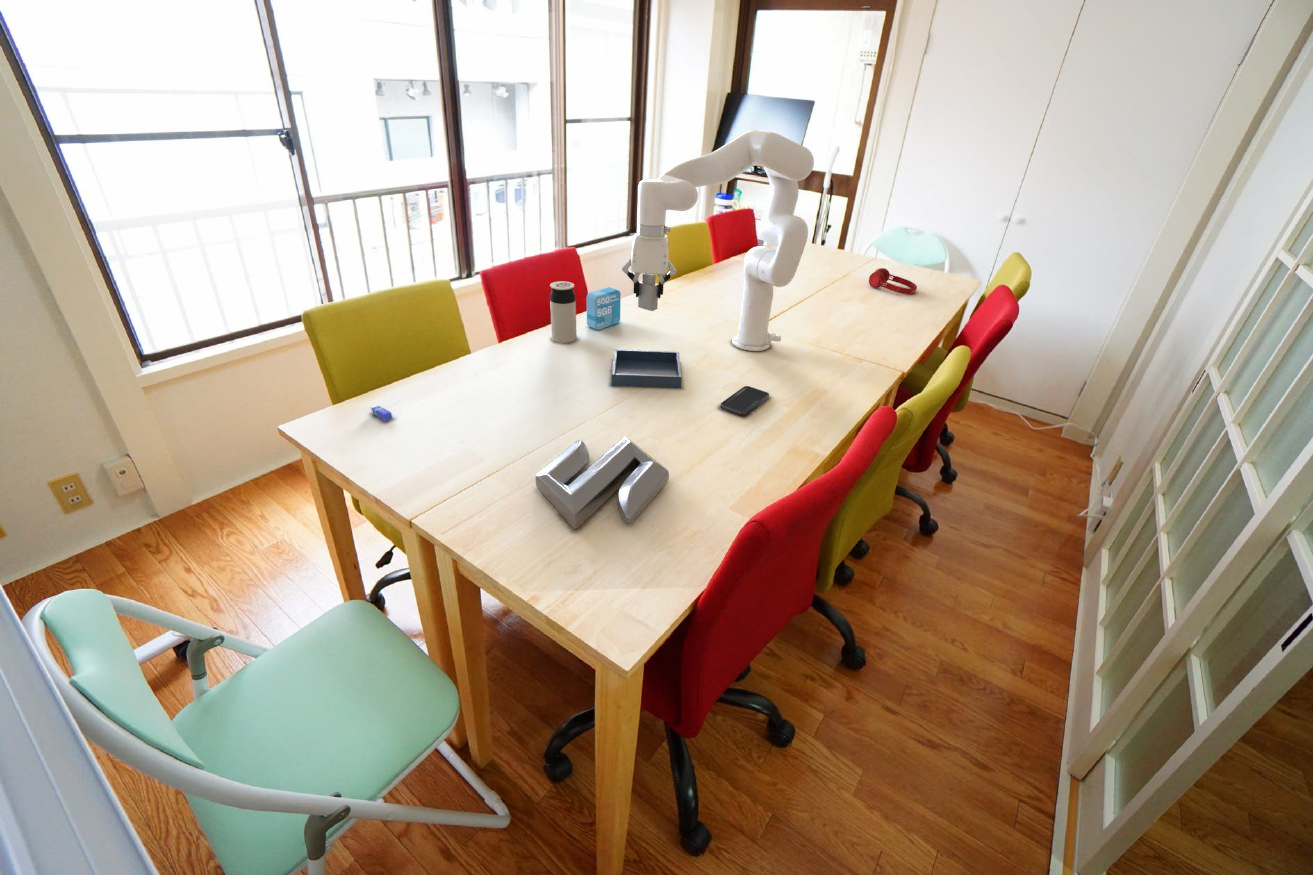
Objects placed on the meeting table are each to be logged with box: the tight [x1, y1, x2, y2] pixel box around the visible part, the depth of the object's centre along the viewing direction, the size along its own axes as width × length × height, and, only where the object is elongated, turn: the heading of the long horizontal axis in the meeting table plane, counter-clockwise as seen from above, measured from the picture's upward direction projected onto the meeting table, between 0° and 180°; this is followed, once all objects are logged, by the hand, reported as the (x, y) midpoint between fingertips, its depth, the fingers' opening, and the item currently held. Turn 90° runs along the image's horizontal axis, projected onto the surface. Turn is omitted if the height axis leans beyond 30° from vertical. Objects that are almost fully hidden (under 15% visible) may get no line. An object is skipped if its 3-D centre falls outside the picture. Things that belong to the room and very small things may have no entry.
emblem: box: [535, 436, 670, 530], centre depth 121 cm, size 28×5×28 cm
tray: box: [610, 348, 683, 389], centre depth 169 cm, size 20×18×4 cm
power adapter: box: [637, 273, 659, 312], centre depth 163 cm, size 3×5×12 cm, turn 54°
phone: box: [720, 385, 770, 417], centre depth 157 cm, size 8×1×15 cm
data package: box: [586, 286, 621, 331], centre depth 199 cm, size 12×4×12 cm, turn 138°
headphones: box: [868, 267, 918, 295], centre depth 255 cm, size 15×7×20 cm
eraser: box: [369, 404, 393, 422], centre depth 142 cm, size 2×6×2 cm, turn 53°
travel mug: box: [549, 280, 577, 344], centre depth 185 cm, size 8×8×18 cm
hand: (648, 295), depth 164 cm, fingers closed on power adapter, 5 cm apart
